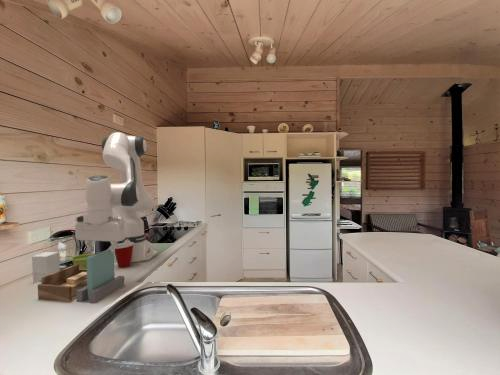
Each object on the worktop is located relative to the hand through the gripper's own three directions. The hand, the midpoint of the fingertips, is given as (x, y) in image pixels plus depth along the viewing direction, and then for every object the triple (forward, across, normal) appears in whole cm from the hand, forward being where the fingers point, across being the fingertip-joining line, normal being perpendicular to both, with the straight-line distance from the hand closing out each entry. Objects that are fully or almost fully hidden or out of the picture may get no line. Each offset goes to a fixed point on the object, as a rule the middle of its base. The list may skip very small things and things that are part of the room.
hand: (101, 251), depth 103 cm
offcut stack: (+16, +11, 0) cm, 20 cm away
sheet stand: (+18, 0, 0) cm, 18 cm away
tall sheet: (+16, 0, 0) cm, 17 cm away
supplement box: (+18, +38, -10) cm, 43 cm away
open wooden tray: (+18, +13, 0) cm, 22 cm away
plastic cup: (+19, +16, -34) cm, 42 cm away
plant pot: (+18, +28, -20) cm, 39 cm away
